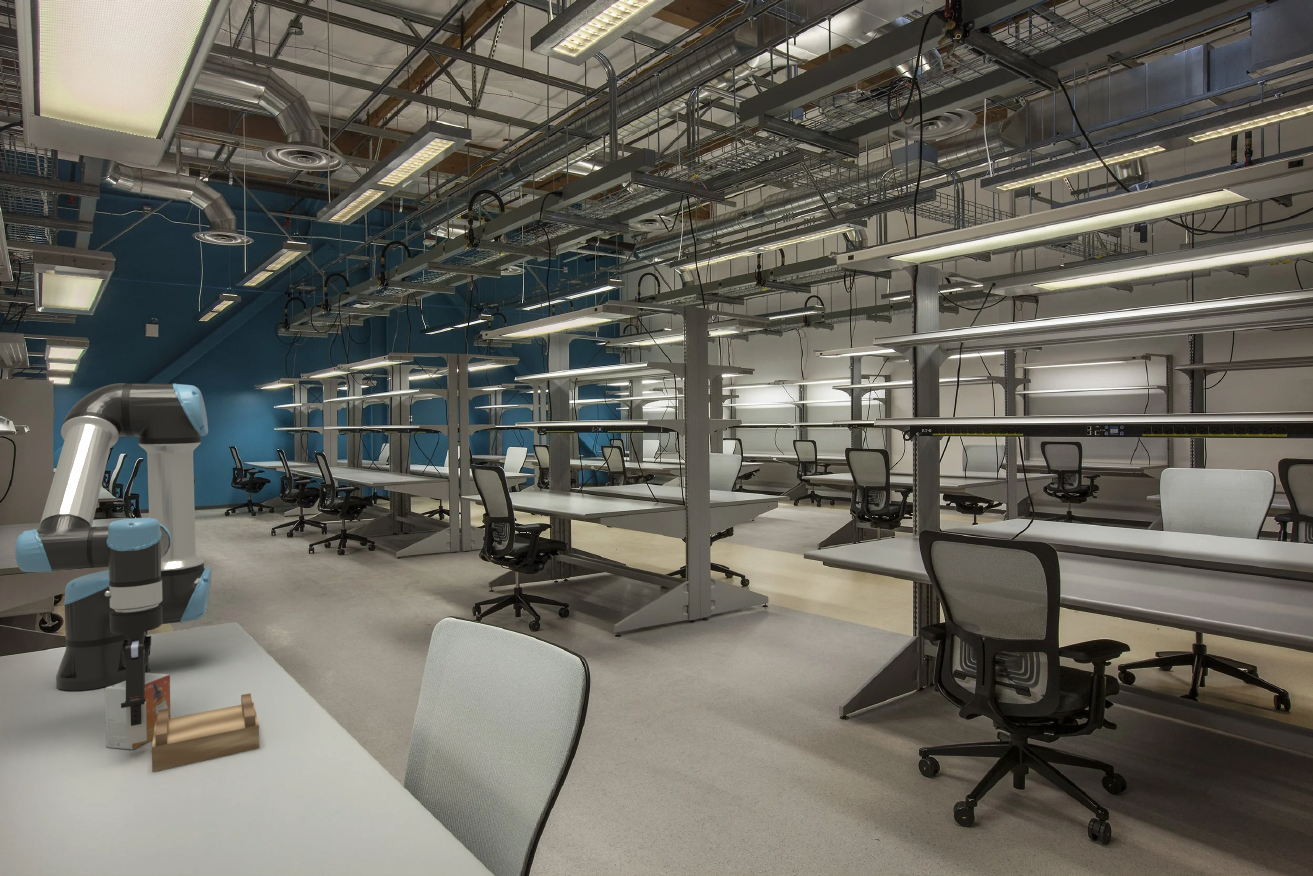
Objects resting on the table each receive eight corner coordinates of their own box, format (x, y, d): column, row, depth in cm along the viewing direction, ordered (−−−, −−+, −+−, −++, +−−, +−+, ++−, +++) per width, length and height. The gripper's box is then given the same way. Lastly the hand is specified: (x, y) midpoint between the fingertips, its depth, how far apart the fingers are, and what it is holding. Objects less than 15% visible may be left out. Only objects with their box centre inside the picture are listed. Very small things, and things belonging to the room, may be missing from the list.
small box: (131, 751, 122) (130, 689, 122) (104, 748, 123) (103, 687, 123) (172, 731, 130) (171, 673, 130) (146, 728, 131) (145, 671, 131)
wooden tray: (155, 744, 125) (154, 711, 125) (254, 723, 133) (253, 692, 133) (152, 772, 115) (151, 736, 115) (259, 748, 123) (258, 714, 123)
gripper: (115, 596, 134) (118, 711, 135) (102, 626, 114) (105, 761, 115) (164, 590, 138) (167, 702, 139) (159, 618, 118) (162, 749, 119)
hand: (139, 729), depth 127 cm, fingers open, 11 cm apart
